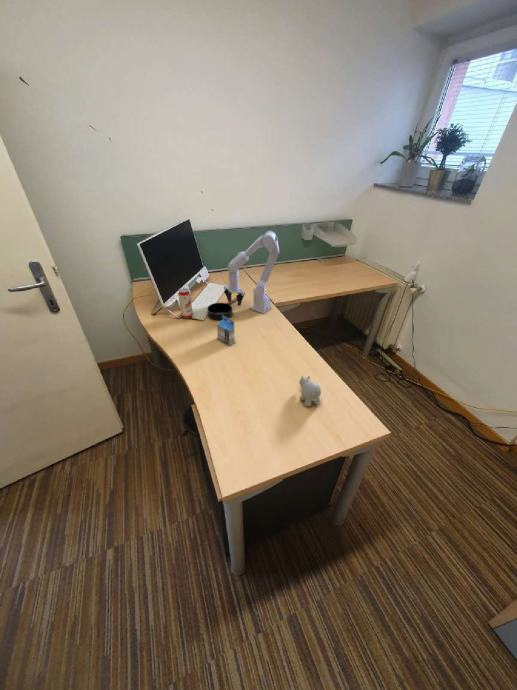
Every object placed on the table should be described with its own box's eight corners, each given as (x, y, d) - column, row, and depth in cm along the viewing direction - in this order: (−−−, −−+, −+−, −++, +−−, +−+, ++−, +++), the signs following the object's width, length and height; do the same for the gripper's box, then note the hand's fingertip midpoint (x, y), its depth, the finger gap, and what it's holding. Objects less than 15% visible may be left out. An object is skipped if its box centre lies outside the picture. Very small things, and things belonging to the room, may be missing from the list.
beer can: (195, 315, 156) (192, 289, 147) (188, 320, 152) (184, 293, 142) (186, 312, 158) (182, 287, 149) (179, 317, 154) (175, 291, 144)
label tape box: (217, 338, 138) (215, 317, 131) (223, 335, 140) (222, 314, 133) (229, 345, 133) (228, 324, 126) (235, 342, 136) (234, 321, 128)
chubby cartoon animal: (308, 384, 113) (311, 368, 108) (322, 405, 104) (325, 389, 99) (292, 387, 111) (294, 371, 106) (304, 409, 102) (307, 393, 97)
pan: (247, 307, 166) (247, 301, 164) (221, 323, 150) (220, 316, 148) (229, 300, 172) (229, 294, 170) (202, 315, 156) (202, 309, 154)
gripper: (219, 281, 159) (221, 302, 167) (239, 287, 152) (239, 309, 160) (227, 277, 163) (228, 297, 171) (247, 283, 157) (247, 304, 165)
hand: (234, 303), depth 166 cm, fingers open, 7 cm apart
